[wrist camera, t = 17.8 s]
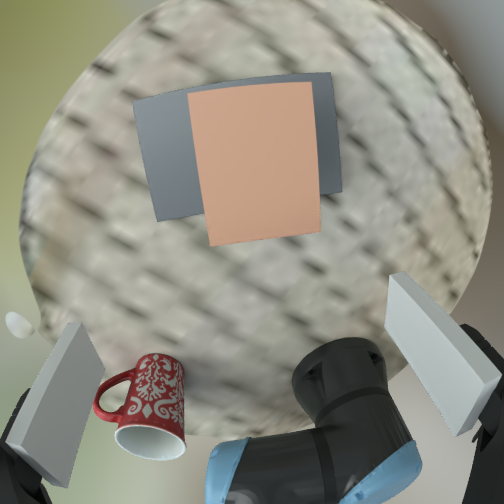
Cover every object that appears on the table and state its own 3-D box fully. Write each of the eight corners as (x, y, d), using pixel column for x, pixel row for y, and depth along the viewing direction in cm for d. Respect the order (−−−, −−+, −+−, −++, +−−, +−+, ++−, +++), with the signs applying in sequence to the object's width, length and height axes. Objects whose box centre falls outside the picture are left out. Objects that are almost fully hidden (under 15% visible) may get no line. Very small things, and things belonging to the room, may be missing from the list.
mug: (201, 362, 43) (198, 440, 31) (177, 396, 46) (171, 466, 34) (119, 328, 39) (92, 403, 27) (104, 366, 42) (81, 435, 30)
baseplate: (337, 188, 34) (356, 202, 29) (159, 217, 34) (149, 236, 29) (326, 73, 29) (344, 67, 24) (135, 102, 28) (119, 100, 23)
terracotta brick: (296, 201, 22) (320, 232, 17) (213, 212, 22) (210, 246, 17) (287, 90, 19) (311, 81, 14) (197, 99, 19) (187, 93, 13)
